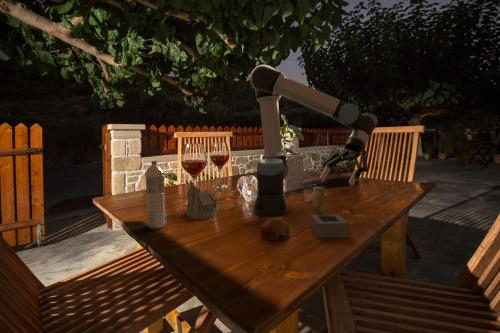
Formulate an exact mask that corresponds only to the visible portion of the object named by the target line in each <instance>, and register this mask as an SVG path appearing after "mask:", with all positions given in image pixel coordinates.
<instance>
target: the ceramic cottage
mask: <svg viewBox="0 0 500 333" xmlns="http://www.w3.org/2000/svg"><path fill="white" fill-rule="evenodd" d="M194 184H195V183H194V182H193V180H191V181H189V189H188V190H187V192H186V195H187V208H186V213H185V215H186V216H187V217H189V218H193V219H195V220H207V219H211V218H214V217H215V216H216V215H217V214H218V212H219V211H220V209H219V208H218V206H217V205H218V204H217V203H218V202H217V200H218V198H217V197H216V194H215V193H214V192H212V193H210V192H208V189H205V188H204V191H202V190H201V189H200V187H197V186H195V185H194Z"/></svg>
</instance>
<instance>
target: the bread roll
mask: <svg viewBox="0 0 500 333" xmlns="http://www.w3.org/2000/svg"><path fill="white" fill-rule="evenodd" d="M289 226H290V225H289V224H288V223H287V222H286V221H285V220H284V219H282V218H280V217H271V218H267V219H266V220H265V221H264V222H263V223H262V225H261V226H260V234H261V235H260V236H261V237H262V236H263V239H264V238H265V240H268V241H271V242H272V241H273V242H276V241H279V242H280V241H284V240H286V239H287V238H288V237H289V236H290V234H291V232H290V227H289Z"/></svg>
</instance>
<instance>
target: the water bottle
mask: <svg viewBox="0 0 500 333" xmlns="http://www.w3.org/2000/svg"><path fill="white" fill-rule="evenodd" d="M157 164H158V163H157V160H154V161H153V160H152V161H151V166H149V167H148V168H147V170H145V172H144V174H145V175H144V177H145V191H146V195H145V196H146V197H145V198H146V210H147V212H146V214H147V226H148V228H149V229H153V230H154V229H163V228H164V227H165V226H167V207H166V206H167V203H166V190H165V188H166V187H165V171H164V170H163V168H162V167H161V166H158V165H157Z"/></svg>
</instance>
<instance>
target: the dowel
mask: <svg viewBox="0 0 500 333" xmlns="http://www.w3.org/2000/svg"><path fill="white" fill-rule="evenodd" d="M312 197H313V199H312V200H313V203H312V215H325V187H322V186H314V187H313V193H312Z"/></svg>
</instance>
